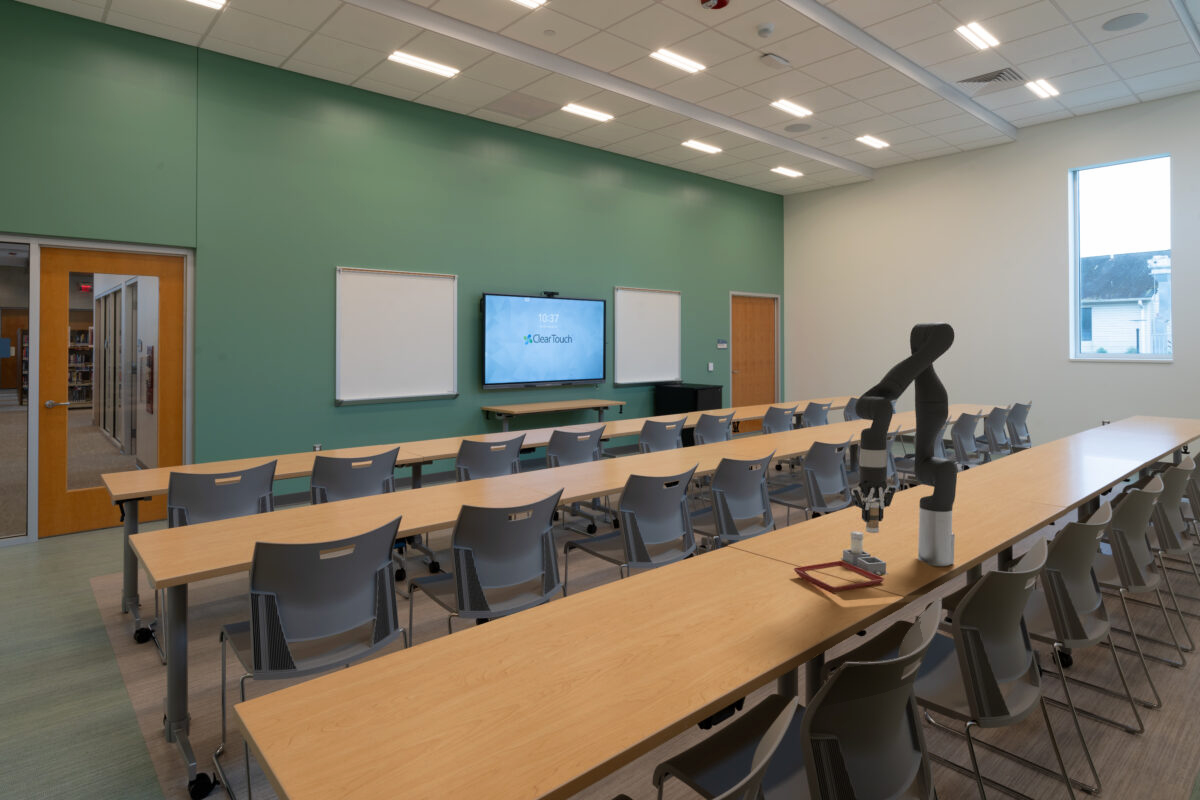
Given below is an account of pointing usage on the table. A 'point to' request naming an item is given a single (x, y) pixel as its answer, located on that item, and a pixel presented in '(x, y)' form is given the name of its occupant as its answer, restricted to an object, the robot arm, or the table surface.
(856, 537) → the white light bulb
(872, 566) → the block
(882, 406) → the robot arm
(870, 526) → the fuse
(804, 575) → the plant saucer
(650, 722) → the table surface
